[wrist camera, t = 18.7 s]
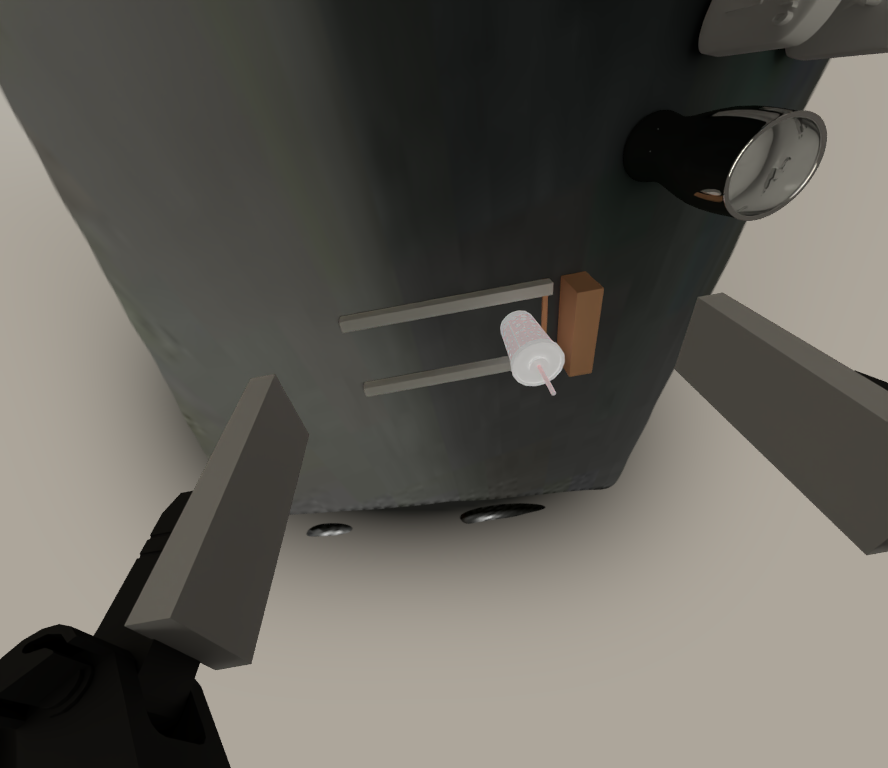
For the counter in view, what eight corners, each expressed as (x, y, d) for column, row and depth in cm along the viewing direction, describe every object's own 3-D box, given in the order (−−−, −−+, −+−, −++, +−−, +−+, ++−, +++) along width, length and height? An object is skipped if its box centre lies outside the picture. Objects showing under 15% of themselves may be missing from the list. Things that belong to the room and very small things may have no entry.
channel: (367, 390, 52) (365, 414, 48) (340, 316, 44) (335, 337, 40) (576, 352, 51) (591, 372, 47) (585, 271, 44) (603, 288, 40)
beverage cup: (514, 353, 50) (547, 423, 39) (485, 329, 47) (512, 397, 37) (549, 323, 48) (594, 389, 37) (520, 295, 45) (560, 358, 34)
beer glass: (697, 99, 34) (854, 100, 23) (674, 182, 39) (796, 218, 27) (626, 107, 34) (747, 112, 22) (611, 189, 38) (706, 229, 27)
